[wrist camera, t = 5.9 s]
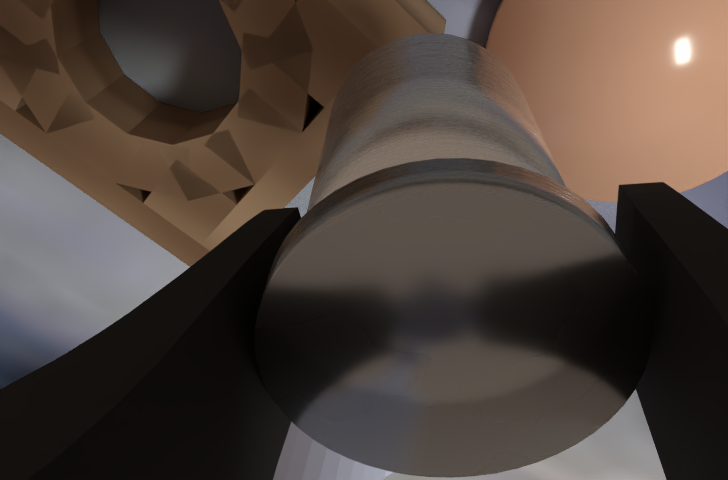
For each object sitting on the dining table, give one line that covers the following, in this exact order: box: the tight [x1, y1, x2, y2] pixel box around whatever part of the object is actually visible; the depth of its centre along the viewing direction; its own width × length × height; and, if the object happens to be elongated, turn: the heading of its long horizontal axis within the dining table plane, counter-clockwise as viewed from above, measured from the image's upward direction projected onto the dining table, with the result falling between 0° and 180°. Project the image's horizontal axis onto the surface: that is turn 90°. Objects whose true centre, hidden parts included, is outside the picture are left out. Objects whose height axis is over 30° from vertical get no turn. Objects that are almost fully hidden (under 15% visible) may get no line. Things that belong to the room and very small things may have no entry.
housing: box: [0, 0, 446, 267], centre depth 18 cm, size 12×12×2 cm
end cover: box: [254, 33, 653, 477], centre depth 11 cm, size 5×5×7 cm
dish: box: [486, 0, 728, 202], centre depth 17 cm, size 9×9×1 cm
